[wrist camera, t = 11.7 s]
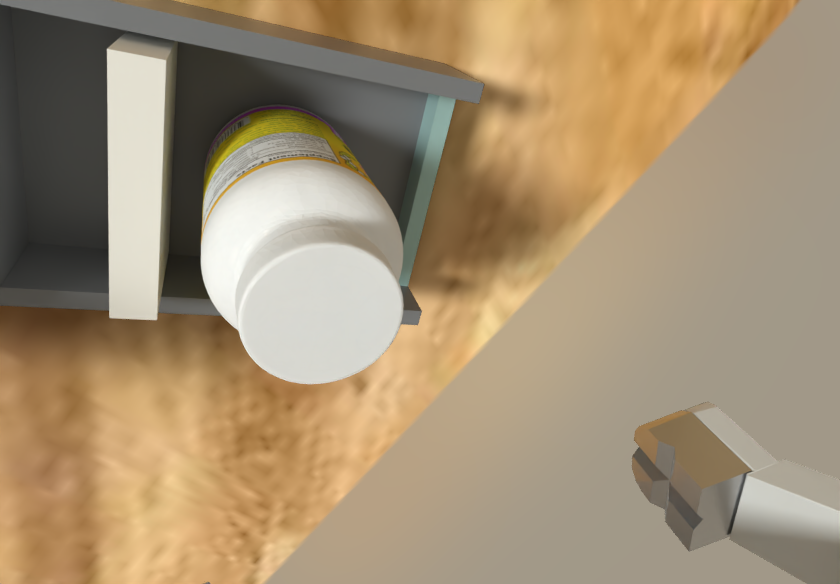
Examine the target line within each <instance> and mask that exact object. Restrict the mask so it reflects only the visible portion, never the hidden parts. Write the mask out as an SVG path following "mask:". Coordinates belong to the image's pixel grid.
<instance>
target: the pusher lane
mask: <svg viewBox="0 0 840 584" xmlns="http://www.w3.org/2000/svg"><path fill="white" fill-rule="evenodd" d="M127 31H131V32H136V33H140V34H145V35H150V36H155V37H160V38H164V39H169V40H174V41H178V49H177V72H176V95H175V118H174V141H173V165H172V188H171V211H170V234H169V253H168V259H167V264H166V270H165V276H164V282H163V288H162V294H161V300H160V306H159V311H158V313H172V314H193V315H215V316H222V315H221V314H220V313H219V312H218V310H217V309H216V307H215V306H214V304H213V302H212V301H211V299H210V297H209V295H208V292H207V290H206V287H205V284H204V281H203V276H202V270H201V235H202V212H203V187H204V169H205V162H206V158H207V154H208V151H209V149H210V146H211V144H212V142H213V140H214V139H215V137H216V136H217V134H218V133H219V132H220V130H221V129H222V128H223V127H224V126H225V125H226V124H227V123H228V122H229V121H231V120H232V119H233V118H235V117H236V116H238V115H239V114H241V113H243V112H245V111H248V110H250V109H253V108H256V107H260V106H267V105H278V104H280V105H289V106H295V107H299V108H302V109H305V110H307V111H310V112H312V113H314V114H315V115H317V116H319V117H320V118H322V119H323V120H325V121H326V122H327V123H328V124H329V125H331V126H332V128H333V129H334V130H335V131H336V132H337V133H338V134H339V135H340V137H341V138H342V139H343V140H344V142H345V143H346V145H347V146H348V148H349V149H350V150H351V152H352V153H353V155H354V156H355V157H356V159H357V160H358V162H359V163H360V165H361V166H362V168H363V169H364V170H365V172H366V173H367V175H368V176H369V178H370V179H371V181H372V182H373V183H374V185H375V186H376V188H377V189H378V190H379V192H380V193H381V194H382V196H383V197H384V198H385V200H386V202H387V203H388V205H389V207H390V208H391V210H392V212H393V214H394V216H395V218H396V220H397V222H398V225H399V228H400V232H401V236H402V242H403V264H402V270H401V275H400V278H399V281H398V282H399V284H400V287H401V291H402V295H403V304H404V307H403V317H402V321H401V324H408V325H418V323H419V319H420V316H421V312H422V311H421V309H420V307H419V305H418V304H417V302H416V300H415V298H414V296H413V295H412V293H411V291H410V289H409V287H408V284H409V280H410V276H411V272H412V268H413V265H414V261H415V257H416V253H417V249H418V245H419V241H420V237H421V233H422V230H423V226H424V222H425V218H426V214H427V210H428V206H429V202H430V198H431V195H432V191H433V187H434V183H435V179H436V175H437V171H438V167H439V163H440V160H441V156H442V152H443V148H444V144H445V140H446V136H447V132H448V128H449V125H450V121H451V117H452V113H453V109H454V105H455V101H456V99H458V100H463V101H467V102H472V103H477V104H479V102H480V98H481V94H482V91H483V87H484V83H482V82H480V81H478V80H476V79H474V78H472V77H470V76H468V75H466V74H464V73H462V72H460V71H458V70H456V69H454V68H452V67H450V66H448V65H446V64H444V63H440V62H436V61H431V60H427V59H423V58H418V57H414V56H410V55H405V54H401V53H397V52H392V51H388V50H384V49H379V48H375V47H371V46H366V45H362V44H358V43H353V42H349V41H345V40H341V39H336V38H332V37H328V36H323V35H319V34H315V33H310V32H306V31H302V30H297V29H293V28H289V27H284V26H280V25H276V24H271V23H267V22H263V21H258V20H254V19H250V18H245V17H241V16H237V15H232V14H228V13H224V12H219V11H215V10H211V9H207V8H202V7H198V6H194V5H189V4H185V3H181V2H176V1H172V0H0V306H21V307H43V308H64V309H86V310H107V311H109V222H108V104H107V48H108V47H110V46H111V45H112V44H113V43H114V42H115V41H116V40H118V39H119V38H120V37H121V36H122V35H123V34H124V33H126V32H127Z"/></svg>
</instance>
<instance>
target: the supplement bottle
mask: <svg viewBox="0 0 840 584" xmlns="http://www.w3.org/2000/svg"><path fill="white" fill-rule="evenodd" d="M402 264H403V242H402V236H401V232H400V228H399V225H398V222H397V220H396V218H395V216H394V214H393V212H392V210H391V208H390V207H389V205H388V203H387V202H386V200H385V198H384V197H383V196H382V194H381V193H380V192H379V190H378V189H377V188H376V186H375V185H374V183H373V182H372V181H371V179H370V178H369V176H368V175H367V173H366V172H365V170H364V169H363V168H362V166H361V165H360V163H359V162H358V160H357V159H356V157H355V156H354V155H353V153H352V152H351V150H350V149H349V148H348V146H347V145H346V143H345V142H344V140H343V139H342V138H341V137H340V135H339V134H338V133H337V132H336V131H335V130H334V129H333V128H332V126H331V125H329V124H328V123H327V122H326V121H325V120H323V119H322V118H320V117H319V116H317V115H315V114H314V113H312V112H310V111H307V110H305V109H302V108H299V107H295V106H289V105H280V104H278V105H267V106H260V107H256V108H253V109H250V110H248V111H245V112H243V113H241V114H239V115H238V116H236V117H235V118H233V119H232V120H231V121H229V122H228V123H227V124H226V125H225V126H224V127H223V128H222V129H221V130H220V132H219V133H218V134H217V136H216V137H215V139H214V140H213V142H212V144H211V146H210V149H209V151H208V154H207V158H206V162H205V169H204V187H203V212H202V235H201V270H202V276H203V281H204V284H205V287H206V290H207V292H208V295H209V297H210V299H211V301H212V302H213V304H214V306H215V307H216V309H217V310H218V312H219V313H220V314H221V315H222V316H223V317H224V318H225V319H226V320H227V321H228V322H229V323H230V324H231V325H232V326H233V327H234V328H235V329H237V330H238V331H239V334H240V338H241V341H242V343H243V345H244V347H245V349H246V351H247V352H248V354H249V355H250V357H251V358H252V359H253V360H254V361H255V362H256V363H257V364H258V365H259V366H260V367H261V368H262V369H264V370H265V371H267V372H268V373H270V374H272V375H274V376H276V377H278V378H281V379H283V380H286V381H290V382H295V383H301V384H322V383H329V382H333V381H338V380H341V379H344V378H347V377H349V376H352V375H354V374H356V373H358V372H360V371H362V370H364V369H365V368H367V367H368V366H370V365H371V364H372V363H374V362H375V361H376V360H377V359H378V358H380V356H381V355H382V354H384V352H385V351H386V350H387V349H388V348H389V346H390V345H391V343H392V342H393V340H394V338H395V336H396V335H397V333H398V330H399V328H400V325H401V321H402V317H403V307H404V304H403V295H402V291H401V287H400V284H399V282H398V281H399V278H400V275H401V270H402Z"/></svg>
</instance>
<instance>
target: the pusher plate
mask: <svg viewBox="0 0 840 584" xmlns="http://www.w3.org/2000/svg"><path fill="white" fill-rule="evenodd" d="M177 49H178V41H174V40H169V39H164V38H160V37H155V36H150V35H145V34H140V33H136V32H131V31H127V32H126V33H124V34H123V35H122V36H121V37H120V38H119V39H118V40H116V41H115V42H114V43H113V44H112V45H111V46H110V47H108V48H107V104H108V222H109V318H117V319H141V320H157V317H158V311H159V306H160V300H161V294H162V288H163V282H164V276H165V270H166V264H167V259H168V253H169V234H170V211H171V188H172V165H173V141H174V118H175V95H176V72H177Z"/></svg>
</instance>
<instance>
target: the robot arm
mask: <svg viewBox="0 0 840 584" xmlns="http://www.w3.org/2000/svg"><path fill="white" fill-rule="evenodd" d="M634 441H635V442H636V443H637V444H638V446H639V448H638V449H637V451H636V452H635V453H634V454H633V457H632V470H633V473H634V476H635V479H636V482H637V484H638V485H639V487H640V489H641V491H642V492H643V493H644V495H645V496H646V498H647V499H648V500H649V502H650V503H652V504H654V505H657V506H659V507H661V508H663V509H665V522H666V523H667V525H668V526H669V527H670V528H671V529H672V531H673V532H674V533H675V535H676V536H677V537H678V538H679V540H680V541H681V542H682V543H683V545H684V546H685V547H686V548H687V550H688V551H692V550H695V549H698V548H700V547H703V546H706V545H708V544H711V543H713V542H716V541H719V540H722V539H724V538H727V537H730V540H732V541H733V542H735V543H737V544H738V545H740V546H742V547H744V548H746V549H747V550H749V551H751V552H752V553H754V554H756V555H758V556H759V557H761V558H763V559H765V560H766V561H768V562H770V563H772V564H773V565H775V566H777V567H779V568H780V569H782V570H784V571H786V572H787V573H789V574H791V575H793V576H794V577H796V578H798V579H800V580H802V581H803V582H805V583H807V584H840V479H837V478H834V477H831V476H829V475H826V474H824V473H821V472H818V471H816V470H813V469H810V468H807V467H805V466H802V465H799V464H796V463H794V462H791V461H788V460H786V459H784V460H781V461H777V460H776V459H775V458H774V457H773V456H771V455H770V454H769V453H768V452H767V451H766V450H765V449H764V448H763V447H761V446H760V445H759V444H758V443H757V442H756V441H755V440H754V439H752V438H751V437H750V436H749V435H748V434H747V433H746V432H745V431H744V430H743V429H741V428H740V427H739V426H738V425H737V424H736V423H735V422H734V421H732V420H731V419H730V418H729V417H728V416H727V415H726V414H725V413H724V412H723V411H721V410H720V409H719V408H718V407H717V406H715V405H714V404H712V403H710V402H705V403H702V404H699V405H697V406H694V407H691V408H689V409H686V410H683V411H682V410H681V411H678V412H675V413H673V414H670V415H668V416H665V417H662V418H660V419H657V420H655V421H652V422H649V423H646V424H644V425H641V426H639V427H638V428H637V429H636V431H635V437H634ZM203 584H210V582H206V583H203Z"/></svg>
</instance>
